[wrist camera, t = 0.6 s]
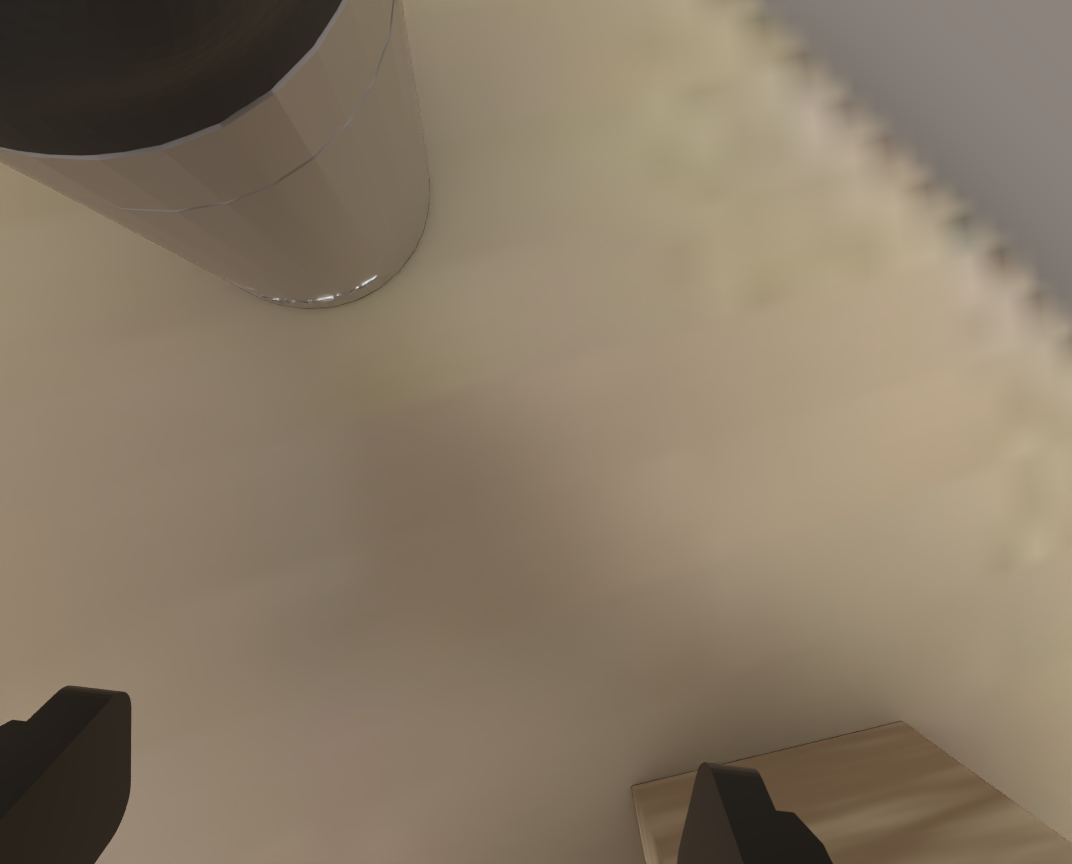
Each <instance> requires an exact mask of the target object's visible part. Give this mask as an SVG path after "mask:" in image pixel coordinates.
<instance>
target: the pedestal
mask: <svg viewBox="0 0 1072 864" xmlns="http://www.w3.org/2000/svg"><path fill="white" fill-rule="evenodd" d="M722 765H731V766H739V767H748V768H754V769H756V770H757V771H758V772H759V773H760V775H761V777H762V779H763V782H764V784H765V786H766V788H767V791H768V793H769V795H770V798H771V800H772V802H773V804H774V807H775V809H776V810H777V811H786V812H794V813H795V814H796V815H797V816H798V817H799V818H800V819H801V820H802V822H803V823H804V824H805V825H806V826H807V827H808V828H809V829H810V830H811V831H812V832H813V833H814V835H815V836H816V837H817V838H818V839H819V840H820V841H821V842H822V843H823V844H824V846H825V848H826V851H827V853H828V855H829V857H830V859H831V861H832V863H833V864H1072V843H1071V842H1069V841H1068V840H1066V839H1065V838H1064V837H1062V836H1061V835H1060V834H1058V833H1057V832H1055V831H1054V830H1053V829H1051V828H1050V827H1048V826H1047V825H1046V824H1044V823H1043V822H1042V821H1040V820H1039V819H1037V818H1036V817H1035V816H1033V815H1032V814H1030V813H1029V812H1028V811H1026V810H1025V809H1023V808H1022V807H1021V806H1019V805H1018V804H1017V803H1015V802H1014V801H1012V800H1011V799H1010V798H1008V797H1007V796H1005V795H1004V794H1003V793H1001V792H1000V791H999V790H997V789H996V788H994V787H993V786H992V785H990V784H989V783H987V782H986V781H985V780H983V779H982V778H981V777H979V776H978V775H976V774H975V773H974V772H972V771H971V770H969V769H968V768H967V767H965V766H964V765H962V764H961V763H960V762H958V761H957V760H956V759H954V758H953V757H951V756H950V755H949V754H947V753H946V752H944V751H943V750H942V749H940V748H939V747H938V746H936V745H935V744H933V743H932V742H931V741H929V740H928V739H926V738H925V737H924V736H922V735H921V734H919V733H918V732H917V731H915V730H914V729H913V728H911V727H910V726H908V725H907V724H906V723H904V722H903V721H901V722H897V723H893V724H889V725H884V726H880V727H876V728H872V729H868V730H864V731H860V732H855V733H851V734H847V735H843V736H839V737H835V738H830V739H826V740H822V741H818V742H814V743H810V744H806V745H801V746H797V747H793V748H789V749H785V750H781V751H776V752H772V753H768V754H764V755H760V756H756V757H751V758H747V759H743V760H739V761H735V762H731V763H727V764H722ZM697 771H698V770H697ZM697 771H693V772H689V773H685V774H681V775H677V776H673V777H668V778H664V779H660V780H656V781H652V782H648V783H643V784H639V785H635V786H631V787H632V793H633V798H634V803H635V809H636V814H637V819H638V825H639V830H640V835H641V841H642V846H643V851H644V857H645V862H646V864H677V858H678V851H679V846H680V842H681V837H682V833H683V829H684V825H685V820H686V816H687V812H688V808H689V803H690V799H691V795H692V791H693V786H694V782H695V778H696V774H697Z"/></svg>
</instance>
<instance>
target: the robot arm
mask: <svg viewBox="0 0 1072 864" xmlns="http://www.w3.org/2000/svg"><path fill="white" fill-rule="evenodd" d="M0 162H2V163H4V164H6V165H7V166H9V167H11V168H13V169H15V170H17V171H19V172H21V173H23V174H25V175H27V176H29V177H31V178H33V179H35V180H37V181H39V182H41V183H43V184H45V185H47V186H48V187H50V188H52V189H54V190H56V191H58V192H60V193H62V194H64V195H66V196H67V197H69V198H71V199H73V200H75V201H77V202H79V203H81V204H83V205H84V206H86V207H88V208H90V209H92V210H94V211H96V212H98V213H100V214H102V215H103V216H105V217H107V218H109V219H111V220H113V221H115V222H117V223H119V224H121V225H122V226H124V227H126V228H128V229H130V230H132V231H134V232H136V233H138V234H140V235H141V236H143V237H145V238H147V239H149V240H151V241H153V242H155V243H157V244H158V245H160V246H162V247H164V248H166V249H168V250H170V251H172V252H174V253H176V254H177V255H179V256H181V257H183V258H185V259H187V260H189V261H191V262H193V263H195V264H196V265H198V266H200V267H202V268H204V269H206V270H208V271H210V272H211V273H213V274H215V275H217V276H219V277H221V278H223V279H225V280H226V281H228V282H230V283H232V284H234V285H236V286H238V287H240V288H242V289H244V290H245V291H247V292H249V293H251V294H253V295H255V296H257V297H260V298H263V299H265V300H268V301H271V302H274V303H277V304H279V305H284V306H291V307H298V308H305V309H310V308H325V307H334V306H338V305H341V304H345V303H348V302H352V301H355V300H358V299H360V298H362V297H364V296H366V295H367V294H369V293H371V292H373V291H375V290H377V289H379V288H380V287H381V286H382V285H384V284H385V283H386V282H387V281H388V280H389V279H391V278H392V277H393V276H394V275H395V274H397V273H398V272H399V270H400V269H401V268H402V266H403V265H404V264H405V263H406V261H407V260H408V259H409V257H410V256H411V255H412V253H413V252H414V250H415V248H416V245H417V243H418V241H419V239H420V237H421V235H422V232H423V230H424V227H425V222H426V218H427V213H428V209H429V174H428V168H427V162H426V155H425V149H424V140H423V133H422V126H421V120H420V113H419V107H418V101H417V94H416V88H415V82H414V75H413V69H412V62H411V56H410V50H409V43H408V37H407V31H406V24H405V18H404V12H403V5H402V0H0ZM130 786H131V701H130V697H129V695H128V694H127V693H125V692H121V691H112V690H104V689H95V688H87V687H79V686H66V687H64V688H62V689H60V690H59V691H58V692H57V693H56V694H55V695H54V696H53V697H52V698H51V699H49V700H48V701H47V702H46V703H45V704H44V705H43V706H42V707H41V708H40V709H39V710H38V711H37V712H36V713H35V714H34V715H33V716H32V717H31V718H30V719H29V720H28V721H18V720H11V721H9V722H7V723H6V724H4V725H2V726H0V864H94V863H95V862H96V861H97V859H98V858H99V856H100V855H101V853H102V852H103V851H104V849H105V848H106V846H107V845H108V843H109V842H110V841H111V839H112V837H113V836H114V834H115V833H116V831H117V829H118V827H119V825H120V823H121V820H122V818H123V815H124V812H125V810H126V806H127V803H128V799H129V794H130ZM677 864H833V863H832V861H831V859H830V857H829V855H828V853H827V851H826V848H825V846H824V844H823V843H822V842H821V841H820V840H819V839H818V838H817V837H816V836H815V835H814V833H813V832H812V831H811V830H810V829H809V828H808V827H807V826H806V825H805V824H804V823H803V822H802V820H801V819H800V818H799V817H798V816H797V815H796V814H795V813H794V812H786V811H777V810H776V809H775V807H774V804H773V802H772V800H771V798H770V795H769V793H768V791H767V788H766V786H765V784H764V782H763V779H762V777H761V775H760V773H759V772H758V771H757V770H756V769H754V768H748V767H739V766H731V765H722V764H714V763H705V762H704V763H702V764H701V765H700V767H699V768H698V771H697V774H696V778H695V782H694V786H693V791H692V795H691V799H690V803H689V808H688V812H687V816H686V820H685V825H684V829H683V833H682V837H681V842H680V846H679V851H678V858H677Z"/></svg>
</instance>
